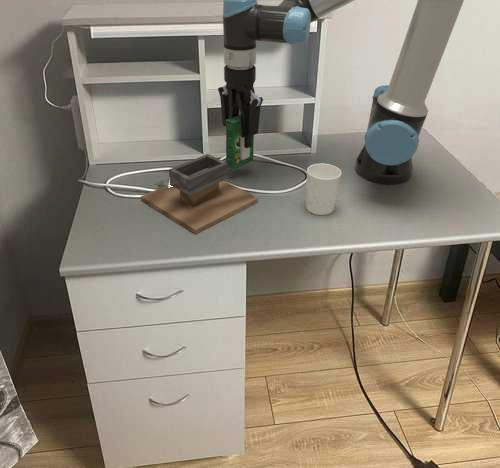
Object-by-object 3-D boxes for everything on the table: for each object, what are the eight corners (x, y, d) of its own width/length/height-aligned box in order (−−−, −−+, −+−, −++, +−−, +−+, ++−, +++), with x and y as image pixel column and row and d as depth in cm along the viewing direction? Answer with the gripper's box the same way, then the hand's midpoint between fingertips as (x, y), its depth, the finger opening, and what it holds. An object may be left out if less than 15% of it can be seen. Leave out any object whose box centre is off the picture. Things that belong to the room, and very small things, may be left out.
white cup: (335, 218, 123) (340, 181, 117) (301, 214, 124) (305, 177, 118) (336, 201, 129) (342, 165, 124) (305, 198, 130) (308, 161, 125)
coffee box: (246, 157, 142) (246, 110, 134) (254, 160, 140) (255, 113, 133) (225, 167, 137) (224, 119, 129) (233, 170, 135) (233, 122, 128)
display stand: (258, 202, 128) (259, 167, 123) (195, 234, 116) (194, 197, 111) (203, 174, 139) (202, 140, 134) (141, 200, 127) (137, 165, 122)
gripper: (205, 61, 126) (208, 150, 139) (253, 76, 117) (252, 170, 130) (227, 55, 131) (229, 142, 144) (275, 69, 121) (272, 161, 135)
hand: (240, 155), depth 137 cm, fingers closed on coffee box, 3 cm apart
